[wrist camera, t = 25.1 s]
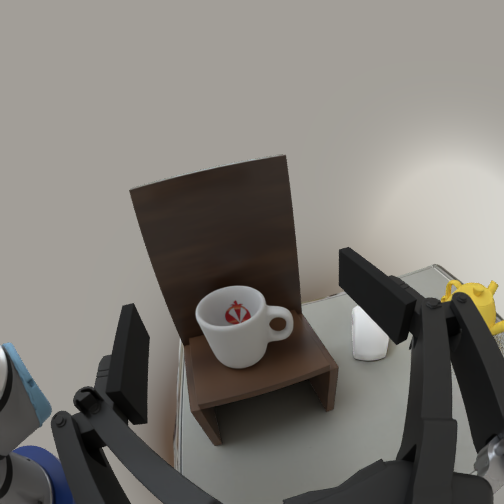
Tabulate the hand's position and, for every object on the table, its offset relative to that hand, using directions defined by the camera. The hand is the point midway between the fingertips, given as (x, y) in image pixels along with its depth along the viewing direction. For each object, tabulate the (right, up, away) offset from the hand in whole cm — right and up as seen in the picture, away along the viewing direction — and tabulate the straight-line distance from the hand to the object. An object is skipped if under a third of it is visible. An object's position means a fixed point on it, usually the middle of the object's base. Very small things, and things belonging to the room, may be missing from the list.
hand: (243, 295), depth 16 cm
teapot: (+43, -14, +23) cm, 51 cm away
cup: (+1, -10, +17) cm, 20 cm away
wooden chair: (+2, -21, +22) cm, 31 cm away
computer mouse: (+22, -14, +30) cm, 40 cm away
